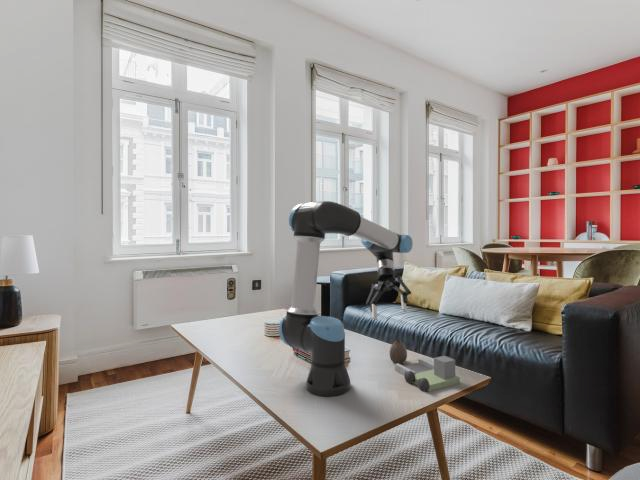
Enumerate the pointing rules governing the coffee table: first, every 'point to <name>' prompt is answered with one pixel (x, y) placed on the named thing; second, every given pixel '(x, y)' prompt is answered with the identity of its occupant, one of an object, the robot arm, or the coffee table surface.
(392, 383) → the coffee table surface
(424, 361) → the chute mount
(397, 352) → the vase
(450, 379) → the toy truck
